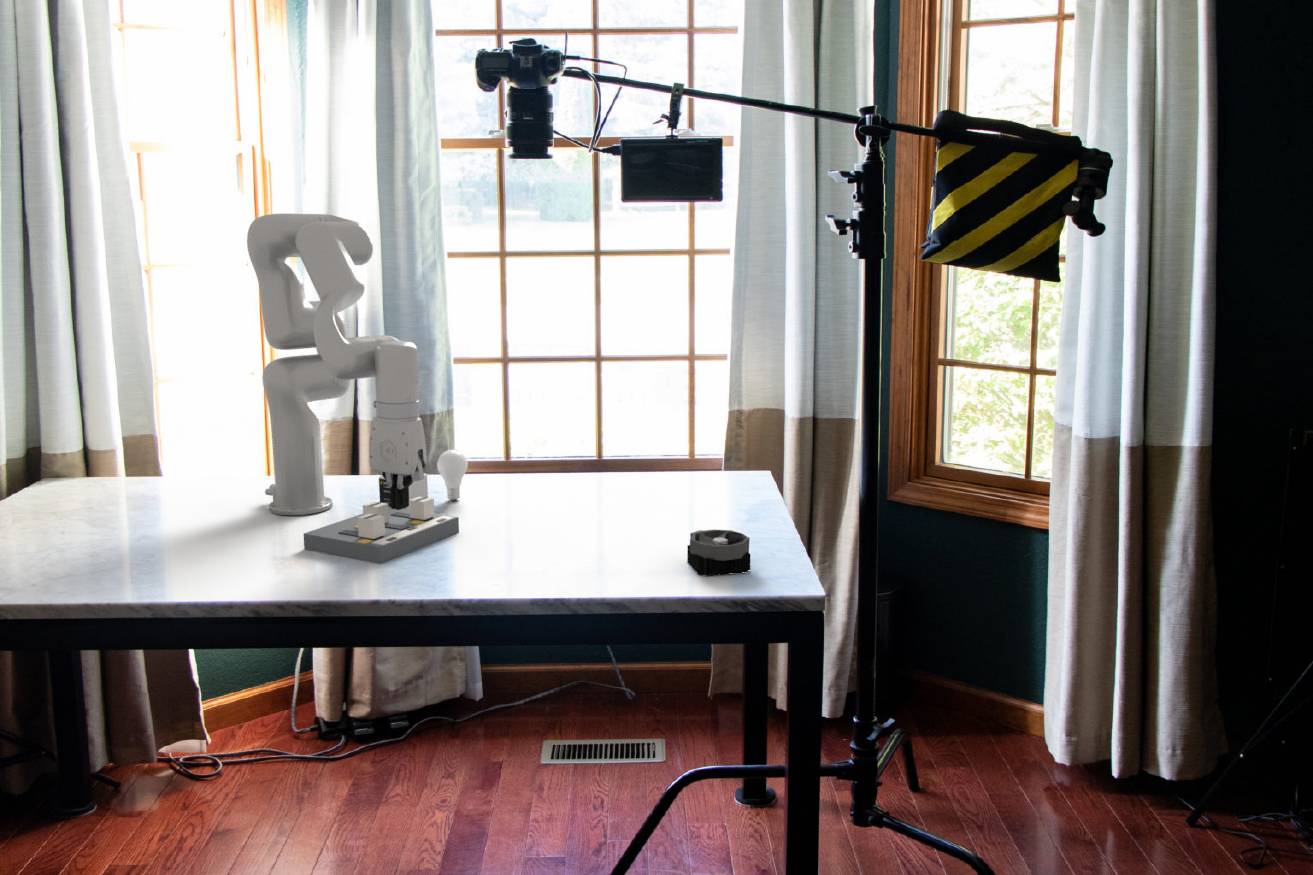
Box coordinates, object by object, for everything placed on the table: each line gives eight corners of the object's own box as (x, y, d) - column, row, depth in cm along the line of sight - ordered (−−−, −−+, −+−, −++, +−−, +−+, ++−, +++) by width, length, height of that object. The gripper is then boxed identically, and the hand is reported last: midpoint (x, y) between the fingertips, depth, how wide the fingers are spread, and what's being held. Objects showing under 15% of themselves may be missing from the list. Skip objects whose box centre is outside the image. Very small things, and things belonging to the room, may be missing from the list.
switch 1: (363, 523, 201) (362, 504, 201) (374, 519, 204) (373, 500, 203) (378, 525, 200) (377, 506, 199) (389, 521, 202) (388, 503, 202)
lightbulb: (465, 504, 228) (463, 453, 226) (435, 504, 228) (433, 453, 226) (471, 496, 234) (469, 447, 232) (442, 496, 234) (440, 447, 232)
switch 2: (358, 536, 193) (357, 516, 192) (370, 532, 196) (369, 512, 195) (373, 538, 191) (372, 519, 191) (385, 534, 194) (384, 515, 193)
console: (304, 549, 196) (303, 531, 196) (386, 520, 215) (385, 504, 215) (380, 563, 188) (380, 545, 188) (459, 532, 207) (458, 515, 207)
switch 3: (409, 517, 205) (408, 499, 204) (420, 514, 208) (419, 495, 207) (424, 520, 204) (423, 501, 203) (434, 516, 206) (433, 497, 206)
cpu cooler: (756, 542, 182) (698, 546, 180) (755, 575, 183) (698, 579, 181) (738, 526, 192) (682, 529, 190) (737, 557, 193) (682, 561, 191)
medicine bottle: (379, 510, 223) (376, 453, 221) (402, 502, 229) (400, 447, 227) (406, 514, 220) (403, 457, 218) (429, 506, 226) (426, 450, 224)
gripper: (351, 408, 195) (354, 506, 199) (416, 418, 188) (418, 519, 192) (379, 402, 201) (382, 496, 205) (443, 411, 195) (445, 509, 199)
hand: (400, 507), depth 199 cm, fingers closed
